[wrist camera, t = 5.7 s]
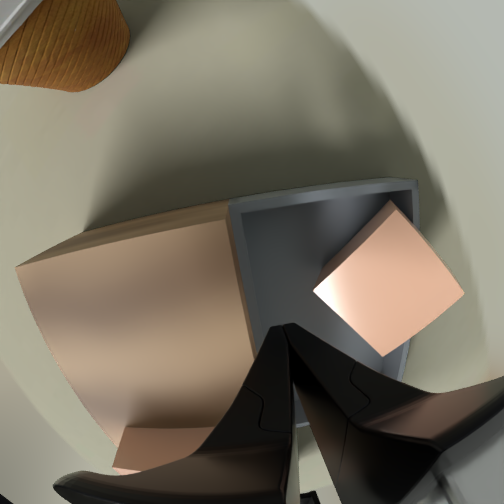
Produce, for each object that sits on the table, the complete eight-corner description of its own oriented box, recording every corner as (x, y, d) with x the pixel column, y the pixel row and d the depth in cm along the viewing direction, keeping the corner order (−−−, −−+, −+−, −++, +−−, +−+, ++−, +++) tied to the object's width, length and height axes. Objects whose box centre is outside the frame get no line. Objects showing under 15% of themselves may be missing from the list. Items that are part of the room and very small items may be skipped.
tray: (383, 376, 20) (397, 397, 18) (269, 405, 20) (273, 432, 17) (391, 177, 16) (417, 179, 13) (229, 198, 15) (228, 204, 13)
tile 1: (248, 471, 13) (251, 507, 10) (164, 473, 13) (159, 506, 10) (228, 425, 12) (228, 473, 9) (125, 427, 12) (112, 467, 9)
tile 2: (312, 290, 14) (321, 268, 17) (382, 356, 14) (382, 328, 16) (396, 209, 11) (390, 199, 14) (464, 293, 11) (451, 270, 13)
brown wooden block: (269, 405, 20) (280, 472, 14) (159, 415, 20) (145, 476, 14) (229, 198, 15) (225, 219, 9) (82, 232, 15) (14, 267, 9)
